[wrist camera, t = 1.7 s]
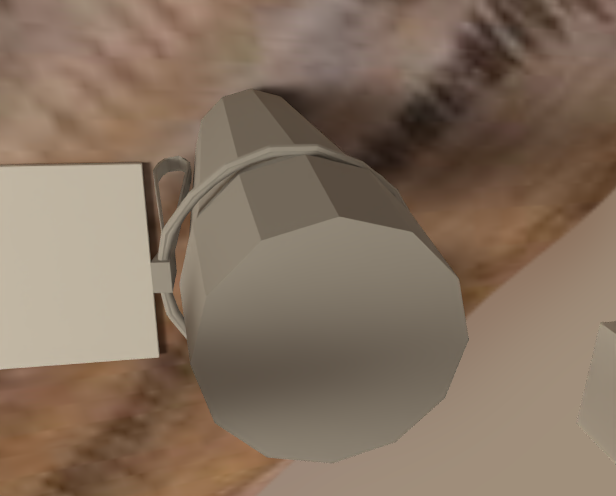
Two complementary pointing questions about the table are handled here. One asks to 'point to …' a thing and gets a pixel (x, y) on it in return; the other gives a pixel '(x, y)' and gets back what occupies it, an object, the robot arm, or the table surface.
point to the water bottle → (304, 288)
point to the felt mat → (74, 265)
